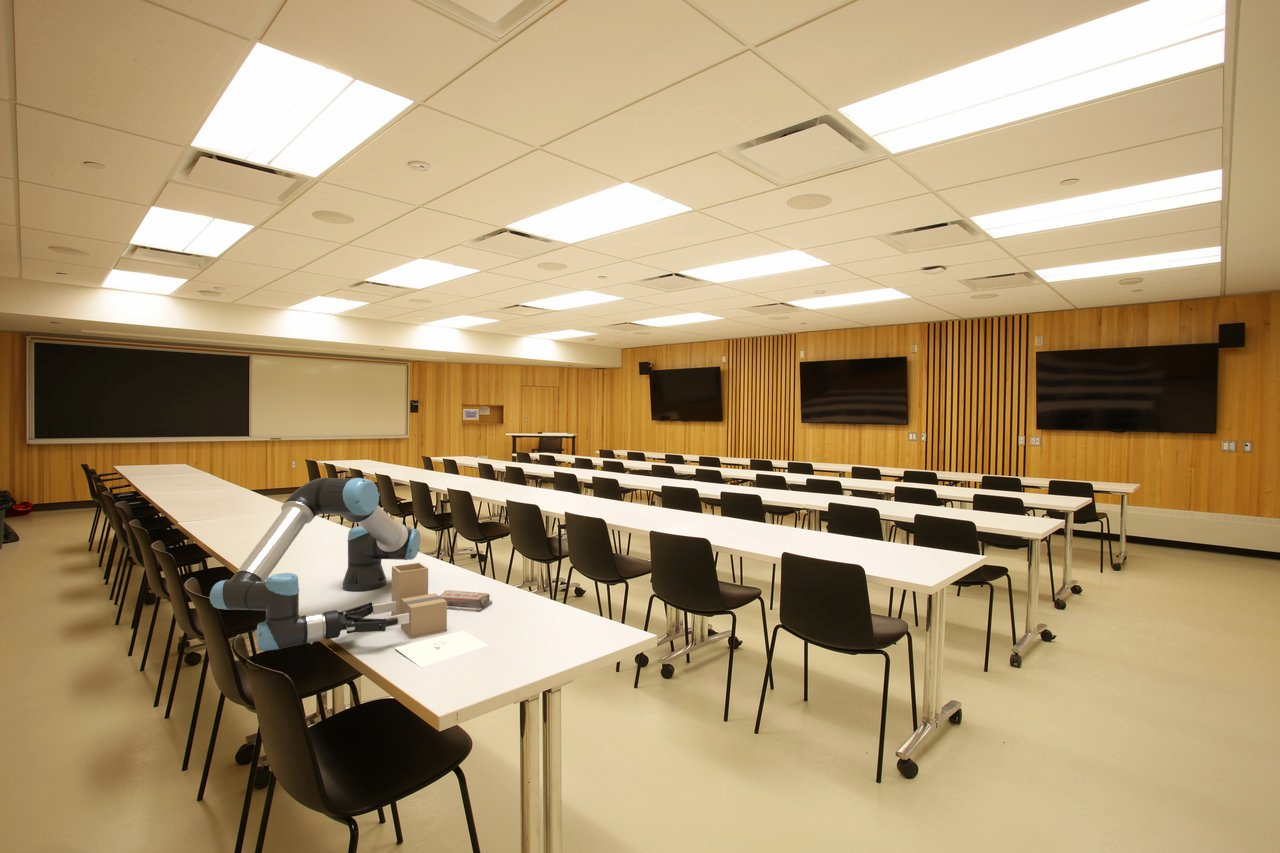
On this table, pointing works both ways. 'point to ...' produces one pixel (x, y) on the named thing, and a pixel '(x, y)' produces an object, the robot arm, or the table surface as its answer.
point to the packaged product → (466, 600)
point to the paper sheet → (440, 648)
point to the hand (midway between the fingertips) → (402, 611)
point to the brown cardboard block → (424, 615)
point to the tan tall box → (408, 583)
